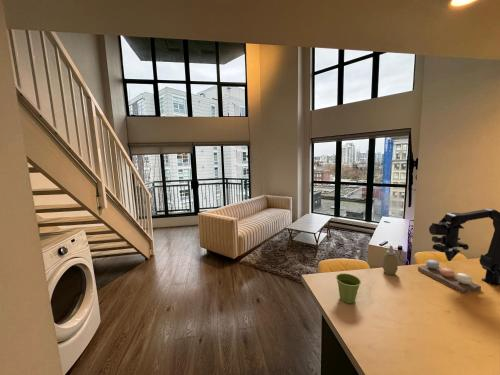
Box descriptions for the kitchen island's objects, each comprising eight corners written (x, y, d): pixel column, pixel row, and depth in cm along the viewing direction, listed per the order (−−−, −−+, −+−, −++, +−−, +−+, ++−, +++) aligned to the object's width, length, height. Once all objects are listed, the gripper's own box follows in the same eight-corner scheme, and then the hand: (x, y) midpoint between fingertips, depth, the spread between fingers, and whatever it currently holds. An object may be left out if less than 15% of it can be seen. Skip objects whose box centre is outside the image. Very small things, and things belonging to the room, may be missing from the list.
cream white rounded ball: (461, 282, 121) (462, 272, 120) (474, 288, 115) (475, 278, 114) (453, 283, 120) (454, 273, 119) (465, 289, 114) (466, 279, 113)
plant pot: (363, 308, 103) (364, 286, 102) (337, 305, 106) (338, 284, 104) (356, 293, 115) (357, 274, 114) (333, 291, 117) (333, 272, 116)
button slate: (431, 267, 138) (431, 259, 137) (440, 272, 132) (441, 263, 131) (423, 268, 136) (424, 260, 136) (433, 273, 131) (433, 264, 130)
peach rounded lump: (445, 276, 129) (446, 267, 129) (456, 281, 124) (457, 272, 123) (437, 277, 128) (438, 268, 128) (448, 282, 122) (449, 273, 122)
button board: (433, 268, 139) (433, 264, 139) (480, 290, 115) (481, 286, 115) (417, 270, 137) (418, 266, 137) (463, 293, 113) (463, 289, 112)
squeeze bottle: (396, 277, 129) (398, 249, 127) (381, 273, 134) (382, 246, 132) (397, 272, 136) (399, 245, 133) (382, 268, 140) (384, 242, 138)
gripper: (449, 229, 132) (446, 253, 134) (424, 232, 129) (422, 256, 131) (470, 235, 121) (467, 261, 123) (444, 238, 118) (441, 265, 120)
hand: (449, 260), depth 124 cm, fingers closed
